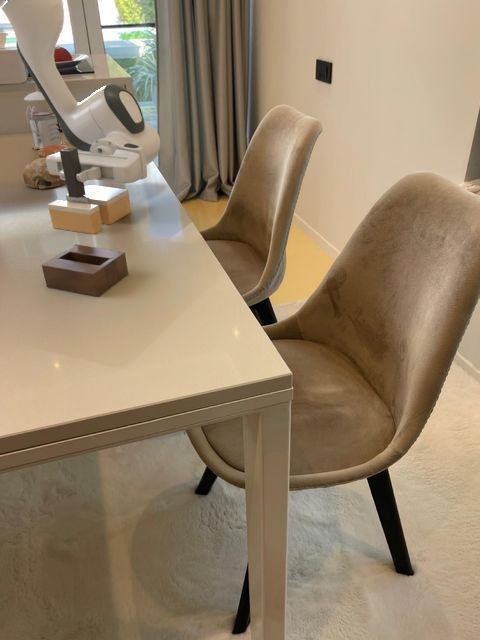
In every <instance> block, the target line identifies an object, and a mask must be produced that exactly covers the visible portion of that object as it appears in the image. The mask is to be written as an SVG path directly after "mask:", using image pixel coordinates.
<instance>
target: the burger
mask: <svg viewBox="0 0 480 640" xmlns="http://www.w3.org/2000/svg"><path fill="white" fill-rule="evenodd" d="M65 148H72V147H71V146H69V145H66V144H65V145H48V146H45V147H43V148H42V149H40V150H38V152H37V156H38V158H46V157H47V156H49V155H52V154H55V153H59V152H60V150H62V149H65Z"/></svg>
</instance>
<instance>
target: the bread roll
mask: <svg viewBox="0 0 480 640" xmlns="http://www.w3.org/2000/svg"><path fill="white" fill-rule="evenodd" d="M22 178H23V182H24V184H25V185H26V186H27V187H29V188H32V189H34V188H36V190H44V189H50V188H57V187H56V186H58V187H61V186H60V185H62V186H64V185H65V184H66V180H61V179H60V175H52V174H50V173H49V171H48V168H47V163H46V158H39V157H38V158H37V159H35V160H33V161H31V162H30V163H28V164H27V165H26V166H25V167H24V170H23V174H22ZM64 183H65V184H64ZM63 184H64V185H63ZM38 188H39V189H38Z"/></svg>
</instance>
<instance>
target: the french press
mask: <svg viewBox="0 0 480 640" xmlns="http://www.w3.org/2000/svg"><path fill="white" fill-rule="evenodd" d="M34 84H35V85H34V86H35V90H36V91H35V92H30V93H29V94H27V95H26V96H25V97H24V98H23V100H24V101H25V102H28V103H39V108H40V110H37V107H36V105H33V106H32V107H31V105H28V106H27V107H26V115H25V116H26V117H25V119H26V120H27V121H26V123H27V125H28V128H29V129H30V130H31V133H32V137H33V141H34V144H35V146H36V147H40V148H43V147H45V146H48V145H61V144H62V142H63V141H62V139H61V135H60V130H59V129H60V128H59V126H58V125H59V122H58V120H57V118H56V116H55V114H54V113H53V111H52V109H51V110H50V109H48V110H44V109H42V105H41V102H47V101H46V99H45V98H44V96H43V95H42V93H41V91H40V90H39V91H38V86H37V85H36V83H35V82H34ZM28 110H30V112H29V113H28ZM28 115H29V116H31V117H29V119H28ZM36 124H37V125H36ZM39 137H40V138H39Z"/></svg>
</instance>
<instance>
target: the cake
mask: <svg viewBox="0 0 480 640" xmlns="http://www.w3.org/2000/svg"><path fill="white" fill-rule="evenodd" d="M84 187H85V193H86V195H84V196H88V197H89V199H90V204H93V205H99V210H100V216H101V222H102V225H113V224H114V223H116V222H117V221H119V220H121V219H123V218H124V217H125V216H127V215H129V214H130V213H132V208H131V202H130V195H129V194H130V193H129V189H127V188H121V187H120V188H119V187H113V186H112V187H110V186H103V185H96V184H95V185H94V184H87V185H84ZM65 198H66V199H65V200H67V197H66V196H65Z"/></svg>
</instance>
